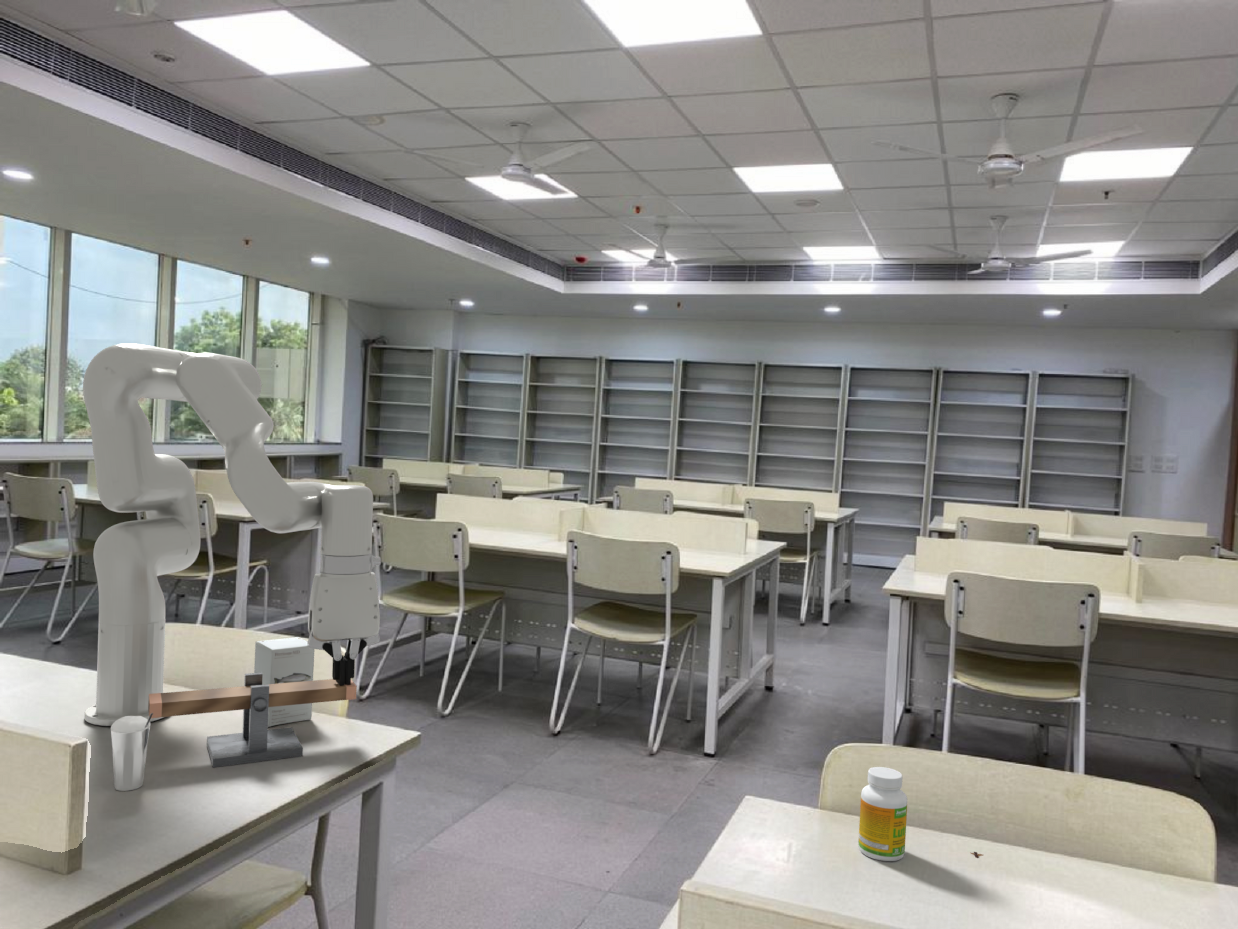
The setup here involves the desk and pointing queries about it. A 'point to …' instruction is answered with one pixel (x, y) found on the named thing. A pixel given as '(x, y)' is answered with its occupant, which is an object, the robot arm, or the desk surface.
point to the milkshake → (129, 751)
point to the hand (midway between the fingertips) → (343, 683)
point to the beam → (247, 697)
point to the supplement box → (285, 673)
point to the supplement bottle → (883, 815)
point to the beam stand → (254, 733)
